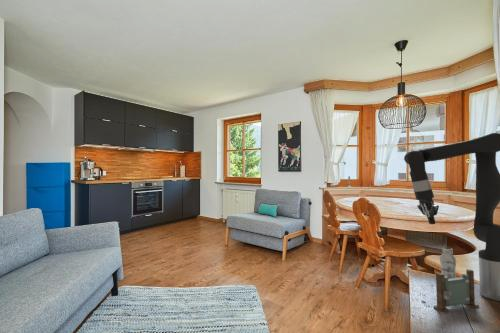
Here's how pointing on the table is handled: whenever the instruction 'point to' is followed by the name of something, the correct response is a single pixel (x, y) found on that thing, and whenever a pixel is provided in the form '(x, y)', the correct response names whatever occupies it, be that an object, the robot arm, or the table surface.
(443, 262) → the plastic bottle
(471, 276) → the hinge post
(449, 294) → the post
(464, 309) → the table surface
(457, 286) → the gate
